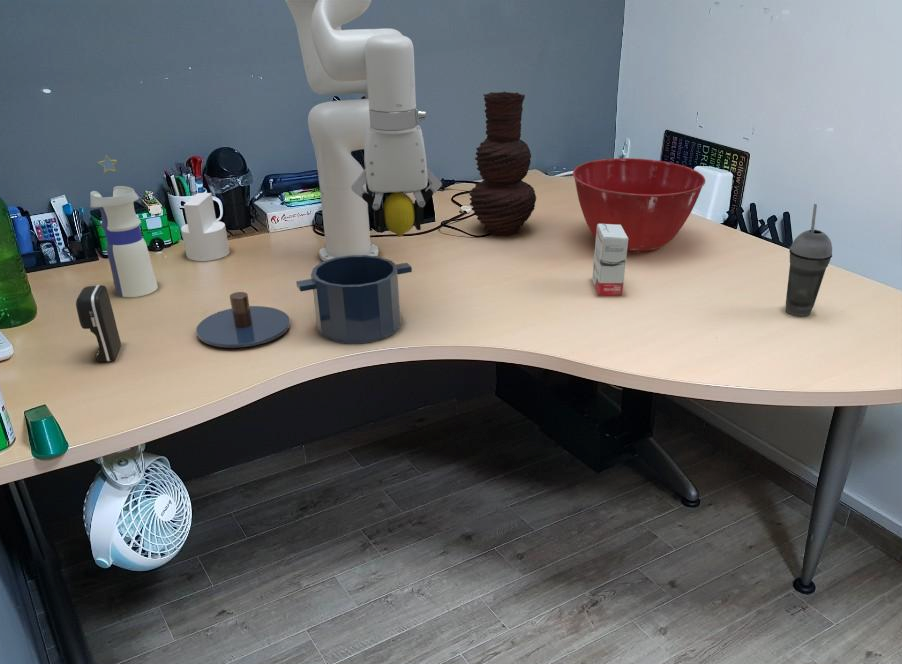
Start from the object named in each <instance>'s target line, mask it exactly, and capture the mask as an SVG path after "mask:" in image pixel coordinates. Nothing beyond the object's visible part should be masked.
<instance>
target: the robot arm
mask: <svg viewBox="0 0 902 664" xmlns="http://www.w3.org/2000/svg"><path fill="white" fill-rule="evenodd" d="M284 1H285V4H286V6H287V8H288V10H289V12H290V14H291V16H292V19H293V21H294V23H295V28H296V32H297V37H298V42H299V49H300V53H301V59H302V63H303V70H304V72H305V77H306V82H307V83H308V86H309V89H310V90H311V91H312V92H313V93H315V94H316V95H321V96H338V95H339V96H340V95H349V94H351V95H353V94H362V95H363V97H364V98H357V99H356V98H355V99H341V100H331V101H324V102H321V103H318V104H316V105H314V106H313V107H312V108H311V109H310V111H309V112H308V115H307V127H308V132H309V136H310V140H311V143H312V148H313V152H314V156H315V157H314V158H315V161H316V168H317V176H318V185H319V195H320V204H321V212H322V222H323V232H324V241H325V245H324V246H322V247H321V248H320V249H319V252H318V253H319V254H318V255H319V259H320V260H322V262H324V261H327V260H329V259H332V258H337V257H343V256H349V255H369V256H377V257H379V247H378V246H377V245H376V244H374V243H372V242H371V230H370V219H369V218H370V217H369V216H370V215H369V206H370V207H371V208H372V209H373V220H374V227H375V228H378V230H379V233H380V234H383V233H385V223H384V217H383V205H382V201H383V198H384V194H387V193H395V192H401V193H405V192H412V194H413V196H414V199H415V200H414V202H413V205H414V208H415V221H414V225H413V226H414V228H415V230H416V231H421V230H422V229H421V228H422V227H421V225H424V223H425V218H424V217H425V216H424V215H425V214H424V207H425V206H426V204H427V202H428V201H429V200H430V199H431V198H432V197H433V196H434V194H435V193H436V192H437V191H438V190H439V189H440V188H441V187H442V186H443V183H442V181H441V179H439V177H438V176H437V175H436V174H435V173H434V172H433V171H432V170H431V169H430V168H429V166H428V163H427V153H426V148H425V147H426V146H425V140H424V135H423V131H422V127H421V126H420V125H419V124H418V123H420V121H425V120H426V119H427V114H426V110H419V109H418V108H417V99H416V98H417V96H416V73H415V72H416V71H415V50H414V48H415V47H414V44H413V41H412V39H411V38H409V37H408V36H406V35H403V34H402V32H401V31H399V30H397V29H395V28H387V27H386V28H362V29H361V28H360V29H359V28H358V29H342V26H344V25H346V24H348V23H350V22H352V21H353V20H356V19H357V18H359V17H360V16H362V15H363V14H364V13H365V12H366V11H367V10H368V8H369V7H370V5H371V3H372V0H284ZM359 150H363V151H364V153H363V156H364V157H363V159H364V161H363V163H364V164H363V165H364V167H363V166H362V164H360V162H359V161H358V160H357V159H355V157H354V156H353V155H352V152H355V151H359ZM428 182H430V184H429V183H428ZM428 184H429V185H428ZM367 188H368V189H367ZM368 190H369V191H370V192H372V194H371V193H369V192H368ZM422 190H423V191H422Z"/></svg>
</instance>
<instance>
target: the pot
mask: <svg viewBox="0 0 902 664" xmlns="http://www.w3.org/2000/svg"><path fill="white" fill-rule="evenodd" d="M412 272H413V268H412V266H411V265H410V264H409V263H408V262H402V263H395V262H394V261H393V260H390V259H388V258H385V257H382V256H369V255H349V256H343V257H337V258H332V259H329V260H327V261H321V262H320V263H318V264H317V265H315V266H314V267H313V268H312V270H311V273H310V278H308V279H303V280H296V282H295V284H296V287H297V289H298V291H300V292H307V291H311V290H312V295H313V302H314V303H313V305H314V311H315V320H316V327H317V329H318V333H319V334H320V336H321V337H323V338H325V339H327V340H329V341H332V342H335V343H339V344H349V345H356V344H358V345H359V344H370V343H373V342H379V341H383V340H385V339H387V338H390V337H392V336H393V335H395V334H396V333H397V332H398V331H399V330H400V328H401V325H402V316H401V315H402V312H401V296H400V281H399V280H400V279H399V275H404V274H408V273H412Z"/></svg>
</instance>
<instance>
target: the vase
mask: <svg viewBox="0 0 902 664" xmlns="http://www.w3.org/2000/svg"><path fill="white" fill-rule="evenodd" d="M482 96H483V97H484V98H483V100H484V102H485V103H484V107H485V108H486V109H485V110H484V113H485V118H486V120H485V124H486V126H485V129H486V130H485V134H486V138H485V139H484V140H483V141H482V142H480V144H479V146H478V147H476V148H475V149H476V152H475V155H476V157H474V160H475V161H477V162H476V166H477V167H476V170H477V171H479V176H480V177H481V179H482V181H480V182H477V183H475V186H474V187H472V188H471V192H469V196H470V198H469V201H470V202H469V206H471V208H470V210H471V211H473V213H472V214H473V215H474V216H476V220H478V221H479V222H480V224H481V225H483V228H484V230H485V231H486V233H487V234H490V235H494V236H512V235H514V234H518V233H519V230H520V229H521V228H522V227H523V226H524V224H525V223H526V222H527V220H528V219H529V218H530V217H531V216H532V213H533V212H534V210H535V207H536V201H537V195H536V191H535V188H534V187H533V186H532V185H531V184H529V183H527V182H526V181H523V180H524V178H526V176H527V175H528V173H529V170H530V166H531V165H532V164H531V159H532V152H531V149H530V147H529V146H528V144H527V143H526V142H525V141H523V140H522V139H521V136H522V134H521V133H522V114H523V111H524V110H523V109H524V108H523V103H524V100H525V98H526V97H525V96H526V95H525V94H522V93H519V92H509V91H500V92H499V91H498V92H496V91H495V92H492V91H490V92H488V93H484V94H482Z"/></svg>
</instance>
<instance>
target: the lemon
mask: <svg viewBox="0 0 902 664" xmlns="http://www.w3.org/2000/svg"><path fill="white" fill-rule="evenodd" d="M413 204H414V202H413V199H411V197H410V196H409V195H407V194H406V193H405V192H391V194H389V195H388V196H387V197H386V198H385V200H384V202H383V205H382V209H383V217H384V227H386V229H387V230H388V231H389V232H391V233H392V234H395V235H396V236H397V237H399V238H401V237H403V236H404V235H405V234H406V233H408V232H410V231H411V230H412V228H413V227H414V226H415V225H414V221H415V208H414V205H413Z"/></svg>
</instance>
